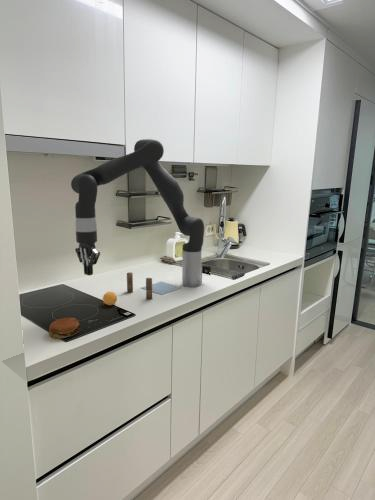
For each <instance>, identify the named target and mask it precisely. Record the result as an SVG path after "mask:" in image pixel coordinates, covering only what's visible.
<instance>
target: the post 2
mask: <svg viewBox="0 0 375 500" xmlns="http://www.w3.org/2000/svg"><path fill="white" fill-rule="evenodd" d="M152 284H153V278H152V277H145V286H146V290H145V299H146V300H147V301H149V300H153V292H152Z"/></svg>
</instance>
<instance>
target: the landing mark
mask: <svg viewBox="0 0 375 500" xmlns="http://www.w3.org/2000/svg"><path fill="white" fill-rule="evenodd" d="M182 288H183V286H178V285H176V284H172V283H169V282H166V281H165V282H164V281H158V282H156V283H152V293H154V294H158V295H161V296H162V295H165V294H168V293H171V292H174V291H177V290H179V289H182ZM140 289H142V290H145V291H146V285H145V286H142V287H140Z"/></svg>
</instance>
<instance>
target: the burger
mask: <svg viewBox="0 0 375 500" xmlns="http://www.w3.org/2000/svg"><path fill="white" fill-rule="evenodd" d="M48 327H49V328H48V330H49V331H48V335H49V337H50V338H52V339H55V340H61V339H65V338H69V337H73V336H75V335H76V334H77V333H79V331H80V330H81V324H80V322H79V320H78V319H77V318H75V317H62V318H59V319H56V320H54V321H52V322H51V324H50V325H49V326H48Z"/></svg>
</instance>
